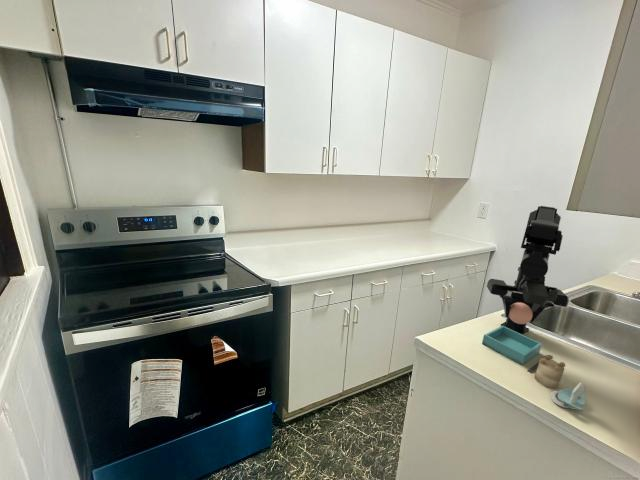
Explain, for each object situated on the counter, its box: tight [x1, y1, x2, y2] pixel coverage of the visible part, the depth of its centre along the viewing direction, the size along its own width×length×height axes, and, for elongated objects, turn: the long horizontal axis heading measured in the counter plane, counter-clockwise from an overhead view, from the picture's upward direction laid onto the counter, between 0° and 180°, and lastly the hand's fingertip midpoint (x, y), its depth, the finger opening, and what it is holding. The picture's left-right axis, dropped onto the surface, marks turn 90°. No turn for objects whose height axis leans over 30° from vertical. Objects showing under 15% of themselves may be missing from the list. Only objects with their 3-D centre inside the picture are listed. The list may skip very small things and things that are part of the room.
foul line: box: [527, 354, 553, 374], centre depth 87 cm, size 14×1×1 cm, turn 125°
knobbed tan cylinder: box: [534, 354, 566, 389], centre depth 79 cm, size 5×5×6 cm
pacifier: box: [550, 382, 586, 411], centre depth 72 cm, size 7×6×6 cm
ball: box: [508, 303, 533, 324], centre depth 90 cm, size 6×6×6 cm
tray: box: [481, 325, 543, 366], centre depth 93 cm, size 11×11×3 cm
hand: (518, 319), depth 91 cm, fingers closed on ball, 6 cm apart
